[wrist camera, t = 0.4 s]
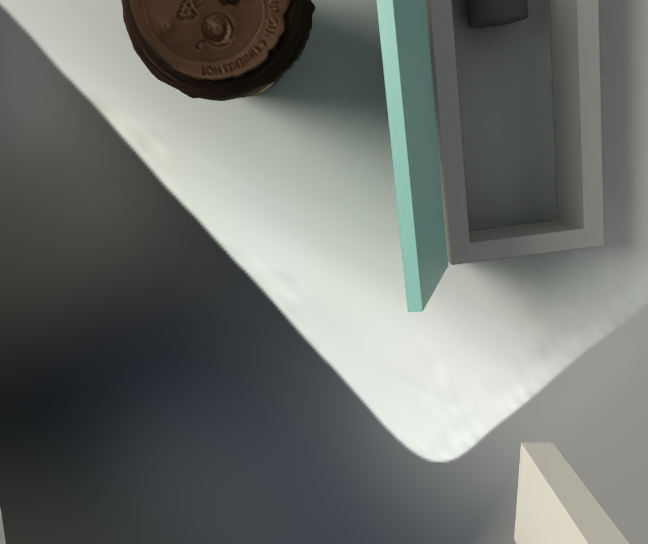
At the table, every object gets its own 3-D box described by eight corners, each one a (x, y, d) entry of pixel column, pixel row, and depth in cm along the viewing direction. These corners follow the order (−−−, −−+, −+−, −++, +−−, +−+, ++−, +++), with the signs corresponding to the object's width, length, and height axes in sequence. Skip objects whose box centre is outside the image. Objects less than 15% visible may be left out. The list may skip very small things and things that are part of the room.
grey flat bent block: (413, -34, 37) (425, -53, 33) (566, -55, 37) (596, -77, 33) (438, 252, 41) (451, 264, 37) (576, 234, 41) (604, 245, 37)
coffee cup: (319, -26, 37) (321, -109, 24) (310, 114, 39) (308, 105, 26) (176, -37, 37) (103, -127, 24) (174, 105, 38) (106, 90, 26)
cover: (421, -53, 33) (408, -50, 33) (382, -106, 25) (366, -101, 25) (448, 265, 37) (436, 266, 37) (422, 311, 29) (408, 311, 29)
